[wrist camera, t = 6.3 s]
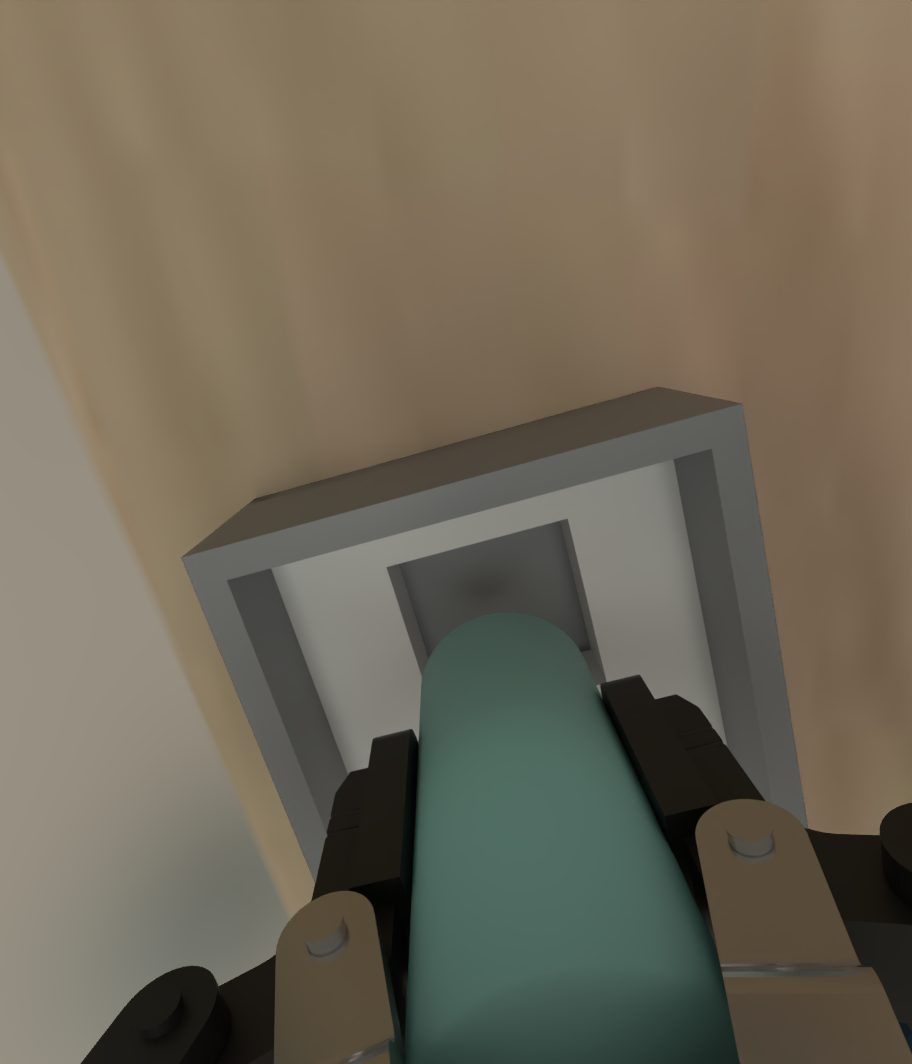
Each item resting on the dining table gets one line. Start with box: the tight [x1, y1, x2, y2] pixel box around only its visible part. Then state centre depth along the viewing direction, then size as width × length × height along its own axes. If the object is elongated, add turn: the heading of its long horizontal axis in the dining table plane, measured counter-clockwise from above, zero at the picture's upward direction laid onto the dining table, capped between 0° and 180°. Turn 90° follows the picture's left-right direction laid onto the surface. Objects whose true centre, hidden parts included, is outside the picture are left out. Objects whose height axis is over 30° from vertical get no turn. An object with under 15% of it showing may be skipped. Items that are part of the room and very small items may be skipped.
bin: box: [181, 387, 808, 883], centre depth 21 cm, size 13×22×6 cm, turn 16°
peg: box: [404, 612, 739, 1064], centre depth 10 cm, size 4×4×8 cm
